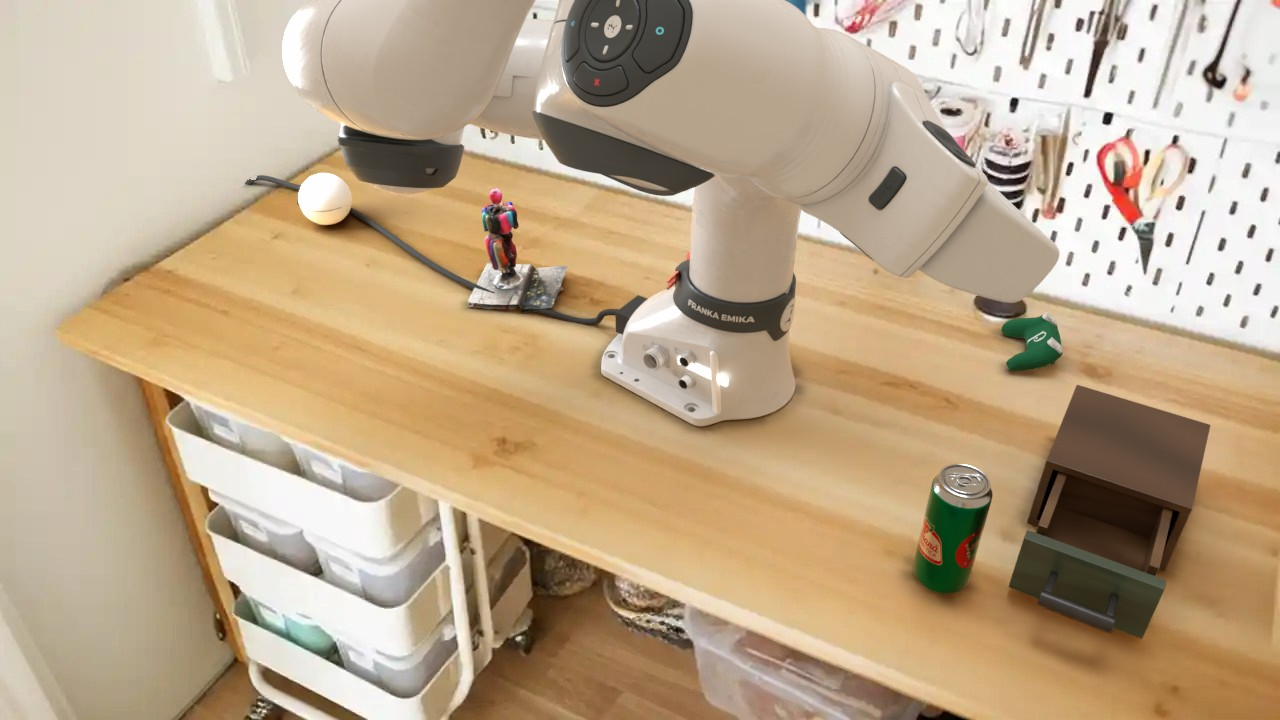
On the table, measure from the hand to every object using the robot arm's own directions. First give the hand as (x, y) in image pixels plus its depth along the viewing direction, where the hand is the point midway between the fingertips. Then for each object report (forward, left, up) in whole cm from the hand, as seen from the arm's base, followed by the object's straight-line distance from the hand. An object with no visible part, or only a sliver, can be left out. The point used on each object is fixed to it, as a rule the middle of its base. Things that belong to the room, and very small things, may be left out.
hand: (984, 197), depth 65 cm
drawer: (+13, +15, -42) cm, 47 cm away
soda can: (+2, +10, -43) cm, 44 cm away
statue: (-60, +30, -43) cm, 79 cm away
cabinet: (+13, +28, -43) cm, 53 cm away
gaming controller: (0, +50, -43) cm, 66 cm away
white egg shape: (-94, +30, -43) cm, 107 cm away
